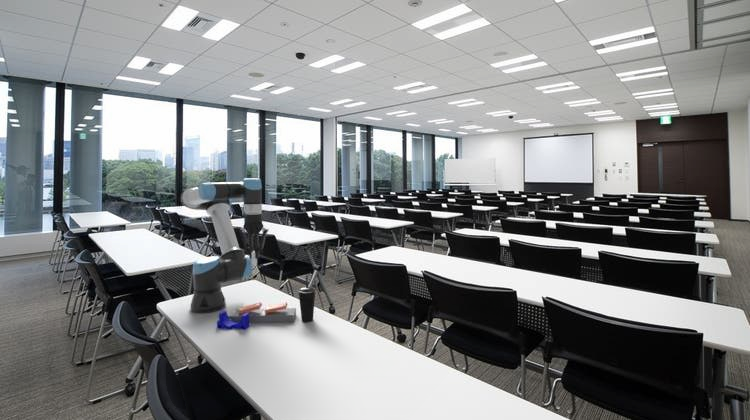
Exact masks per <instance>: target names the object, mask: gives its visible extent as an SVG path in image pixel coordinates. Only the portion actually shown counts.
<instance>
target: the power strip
mask: <svg viewBox="0 0 750 420" xmlns="http://www.w3.org/2000/svg"><path fill="white" fill-rule="evenodd" d="M265 309H266V308H260V309H257V310H254V311H250V312H246V313H249V324H277V323H278V324H279V323H280V324H284V323H294V322H295V320H296V316H297V308H296V307H289V308H288V307H286V309H283V310H278V311H274V312H269V313H265ZM239 310H240V309H239V308H237V309H236V310H235V311H234V312H233V313H232V315H228V317H229V318H230V319H231V320H232V321H234V322H240V320H241V316H242V315H243V314H245V313H243V314H239V313H238V311H239Z"/></svg>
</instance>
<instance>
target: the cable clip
mask: <svg viewBox="0 0 750 420" xmlns="http://www.w3.org/2000/svg"><path fill="white" fill-rule="evenodd" d="M228 316H229V315H228V313H227V310H222V311H220V312H219V313H218V320H217V321H216V329H220V330H226V331H228V330H229V331H230V330H232V329H235V330H242V331H243V330H245V331H246V330H247V329H248V328H249V327H250V323H249V313H245V314H243V315H242V316H241V320H240V322H234V321H232V320H231V319H230V318H229V317H228Z"/></svg>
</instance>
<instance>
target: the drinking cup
mask: <svg viewBox="0 0 750 420" xmlns="http://www.w3.org/2000/svg"><path fill="white" fill-rule="evenodd" d="M308 279H309V278H308V275H305V283H306V284H305V286H303V287H300V288H298V290H297V292H298V299H299V307H300V316H301V317H300V318H301V322H302V323H310V322H313V320H314V312H315V311H314V310H315V299H316V298H315V297H316V291H317V289H316V288H315V287H314V286H313V287H312V286H309V285H308V282H309V281H308Z"/></svg>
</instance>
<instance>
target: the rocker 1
mask: <svg viewBox="0 0 750 420" xmlns="http://www.w3.org/2000/svg"><path fill="white" fill-rule="evenodd" d="M262 306H263V303H262V302H257V303H253V304H249V305H245V306H243V307H240V310H239V311H238V313H239V314H243V313H246V312H250V311H254V310H257V309H262V308H261V307H262Z"/></svg>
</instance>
